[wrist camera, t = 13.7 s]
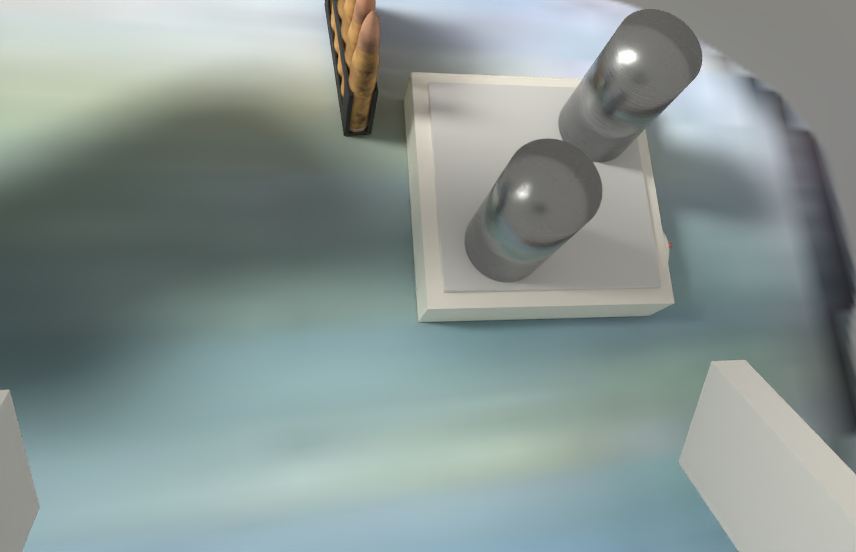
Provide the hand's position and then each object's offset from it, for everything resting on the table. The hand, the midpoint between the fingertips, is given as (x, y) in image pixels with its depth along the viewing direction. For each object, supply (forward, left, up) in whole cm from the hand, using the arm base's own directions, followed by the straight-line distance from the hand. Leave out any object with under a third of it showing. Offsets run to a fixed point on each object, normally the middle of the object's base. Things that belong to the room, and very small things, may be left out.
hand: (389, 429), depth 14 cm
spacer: (+11, +13, -26) cm, 31 cm away
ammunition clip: (+2, +27, -30) cm, 41 cm away
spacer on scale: (+18, +21, -26) cm, 38 cm away
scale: (+14, +17, -30) cm, 37 cm away
